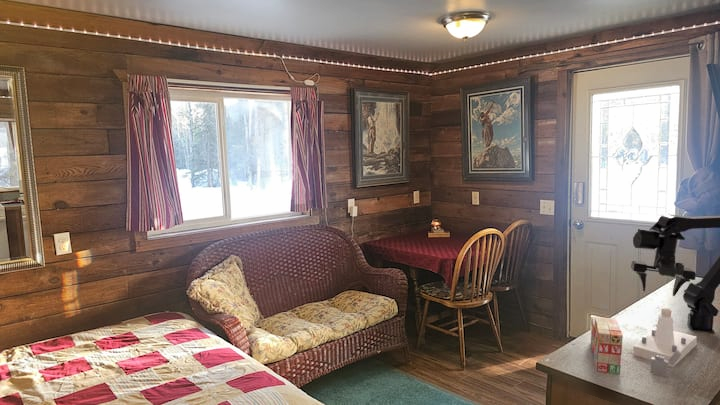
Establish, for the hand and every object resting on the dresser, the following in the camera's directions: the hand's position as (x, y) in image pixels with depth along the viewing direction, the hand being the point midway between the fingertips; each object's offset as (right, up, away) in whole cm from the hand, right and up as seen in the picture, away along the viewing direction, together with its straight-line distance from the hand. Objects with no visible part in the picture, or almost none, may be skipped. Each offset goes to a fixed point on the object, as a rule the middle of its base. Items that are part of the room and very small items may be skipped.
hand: (658, 293), depth 169 cm
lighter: (-18, -18, -31) cm, 40 cm away
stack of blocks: (-29, -17, -20) cm, 39 cm away
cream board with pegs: (-8, -15, -16) cm, 23 cm away
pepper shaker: (-9, -13, -17) cm, 23 cm away
